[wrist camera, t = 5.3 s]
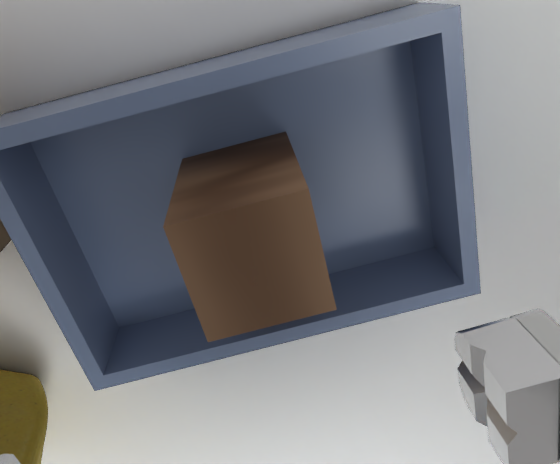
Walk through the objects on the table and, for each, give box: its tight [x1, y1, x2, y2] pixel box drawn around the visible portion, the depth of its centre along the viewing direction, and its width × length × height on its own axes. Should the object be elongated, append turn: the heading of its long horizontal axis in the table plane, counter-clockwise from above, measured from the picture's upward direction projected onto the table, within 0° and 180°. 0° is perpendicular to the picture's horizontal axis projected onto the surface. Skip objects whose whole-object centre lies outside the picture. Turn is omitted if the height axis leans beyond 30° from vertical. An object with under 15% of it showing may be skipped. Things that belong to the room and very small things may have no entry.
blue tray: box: [0, 3, 481, 391], centre depth 18 cm, size 15×10×4 cm
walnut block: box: [163, 131, 337, 342], centre depth 17 cm, size 4×4×6 cm
